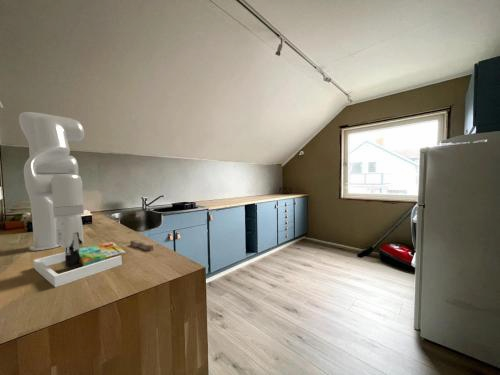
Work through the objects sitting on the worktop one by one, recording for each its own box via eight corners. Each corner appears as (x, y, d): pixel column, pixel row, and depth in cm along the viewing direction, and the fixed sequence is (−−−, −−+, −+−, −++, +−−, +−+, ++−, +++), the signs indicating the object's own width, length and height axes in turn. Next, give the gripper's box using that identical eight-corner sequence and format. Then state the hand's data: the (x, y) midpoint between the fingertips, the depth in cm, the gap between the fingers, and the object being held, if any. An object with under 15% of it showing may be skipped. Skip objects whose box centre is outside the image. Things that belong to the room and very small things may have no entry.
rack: (34, 268, 69) (33, 259, 69) (93, 252, 83) (93, 245, 83) (55, 287, 56) (54, 276, 56) (121, 264, 70) (121, 255, 70)
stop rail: (130, 245, 91) (130, 240, 91) (133, 244, 92) (133, 240, 92) (150, 251, 83) (150, 246, 82) (153, 250, 84) (152, 245, 83)
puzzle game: (111, 239, 86) (125, 249, 72) (112, 250, 86) (126, 262, 72) (75, 246, 77) (83, 260, 64) (76, 259, 78) (84, 274, 64)
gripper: (47, 211, 69) (51, 265, 70) (60, 214, 60) (65, 275, 61) (75, 208, 75) (79, 257, 76) (91, 210, 67) (95, 266, 67)
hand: (73, 265), depth 68 cm, fingers closed
